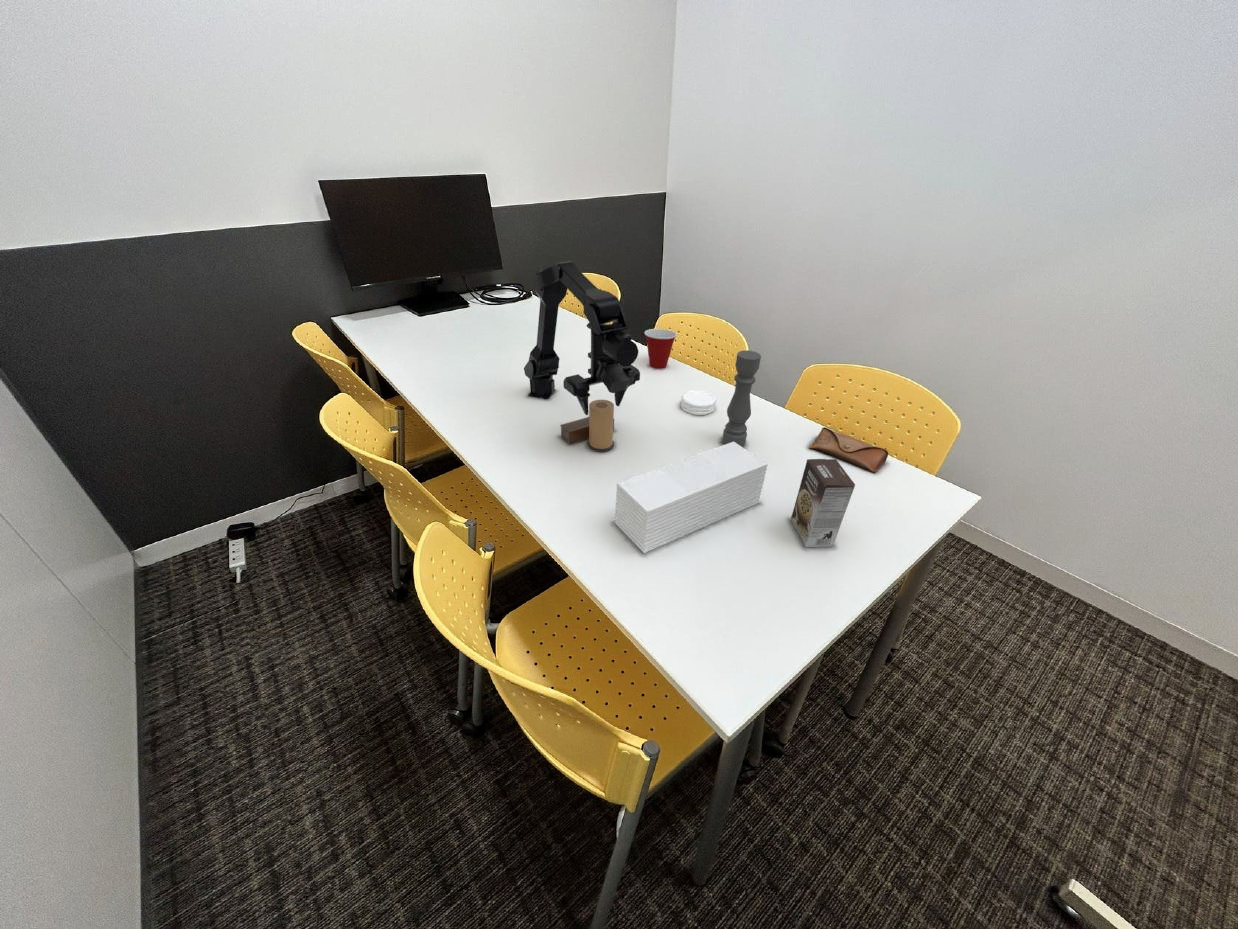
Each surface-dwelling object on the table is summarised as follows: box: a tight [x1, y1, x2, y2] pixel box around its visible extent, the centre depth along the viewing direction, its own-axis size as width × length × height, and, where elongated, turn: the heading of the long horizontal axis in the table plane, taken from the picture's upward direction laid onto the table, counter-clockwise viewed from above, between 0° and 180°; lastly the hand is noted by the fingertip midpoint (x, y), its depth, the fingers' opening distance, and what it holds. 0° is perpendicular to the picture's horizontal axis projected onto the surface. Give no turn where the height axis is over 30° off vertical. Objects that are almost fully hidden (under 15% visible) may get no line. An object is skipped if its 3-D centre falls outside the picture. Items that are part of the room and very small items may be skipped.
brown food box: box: [790, 458, 856, 548], centre depth 109 cm, size 9×6×16 cm
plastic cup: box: [643, 328, 678, 370], centre depth 180 cm, size 11×11×12 cm
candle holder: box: [721, 349, 762, 448], centre depth 136 cm, size 6×6×25 cm
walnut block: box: [560, 416, 615, 445], centre depth 143 cm, size 4×14×4 cm, turn 123°
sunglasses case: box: [809, 427, 889, 473], centre depth 139 cm, size 18×7×7 cm
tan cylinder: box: [587, 399, 615, 453], centre depth 136 cm, size 13×7×13 cm
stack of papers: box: [614, 442, 768, 554], centre depth 114 cm, size 32×11×11 cm, turn 123°
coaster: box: [680, 389, 717, 416], centre depth 158 cm, size 10×10×4 cm
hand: (602, 410), depth 133 cm, fingers open, 9 cm apart
